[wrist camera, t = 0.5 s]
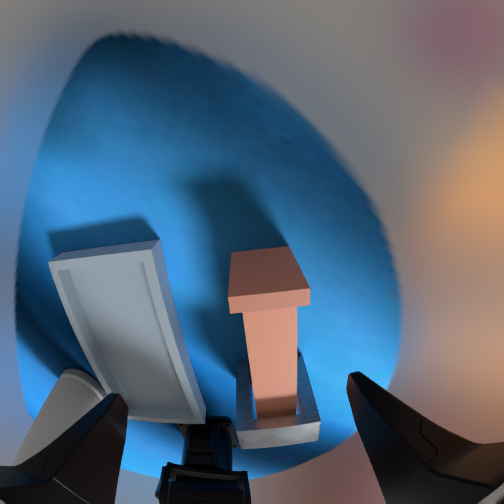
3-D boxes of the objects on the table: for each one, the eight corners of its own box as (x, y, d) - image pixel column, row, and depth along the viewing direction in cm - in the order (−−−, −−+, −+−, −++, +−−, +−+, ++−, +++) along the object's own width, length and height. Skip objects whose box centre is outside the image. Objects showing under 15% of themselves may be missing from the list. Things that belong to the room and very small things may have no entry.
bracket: (301, 376, 25) (317, 440, 17) (240, 382, 25) (241, 449, 17) (302, 354, 24) (320, 421, 16) (236, 361, 24) (236, 431, 16)
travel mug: (58, 381, 25) (-1, 500, 6) (70, 358, 23) (-5, 500, 5) (97, 409, 27) (54, 534, 8) (115, 391, 25) (64, 541, 6)
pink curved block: (292, 383, 25) (303, 436, 19) (250, 388, 25) (253, 442, 19) (289, 246, 20) (309, 288, 14) (231, 252, 20) (227, 297, 14)
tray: (206, 408, 26) (204, 423, 24) (127, 405, 26) (123, 418, 24) (160, 239, 19) (151, 249, 17) (61, 252, 19) (48, 261, 17)
